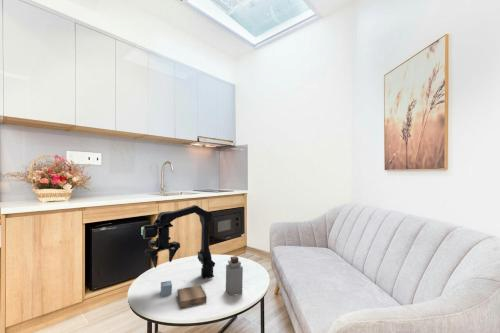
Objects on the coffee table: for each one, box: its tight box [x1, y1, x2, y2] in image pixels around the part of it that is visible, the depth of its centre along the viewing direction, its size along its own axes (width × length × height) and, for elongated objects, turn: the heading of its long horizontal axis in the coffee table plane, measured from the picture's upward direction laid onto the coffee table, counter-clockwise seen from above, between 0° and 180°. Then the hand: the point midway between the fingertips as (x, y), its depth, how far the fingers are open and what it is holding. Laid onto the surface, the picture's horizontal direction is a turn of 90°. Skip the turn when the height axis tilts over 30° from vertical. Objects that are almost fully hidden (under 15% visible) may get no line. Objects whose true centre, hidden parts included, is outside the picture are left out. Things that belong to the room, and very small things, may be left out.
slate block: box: [160, 280, 173, 297], centre depth 118 cm, size 5×5×5 cm
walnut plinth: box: [176, 284, 208, 309], centre depth 113 cm, size 12×12×3 cm
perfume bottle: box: [225, 255, 244, 297], centre depth 121 cm, size 7×7×18 cm
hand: (162, 264), depth 122 cm, fingers open, 9 cm apart
